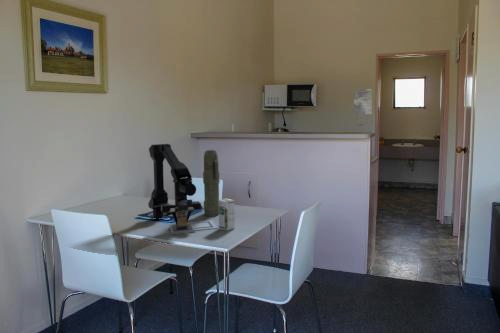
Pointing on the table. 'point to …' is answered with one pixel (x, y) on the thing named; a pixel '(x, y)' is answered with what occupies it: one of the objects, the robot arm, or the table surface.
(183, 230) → the ink pad
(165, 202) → the robot arm
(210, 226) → the board
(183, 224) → the stamp
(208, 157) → the thermos
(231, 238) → the table surface
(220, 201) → the syrup box
